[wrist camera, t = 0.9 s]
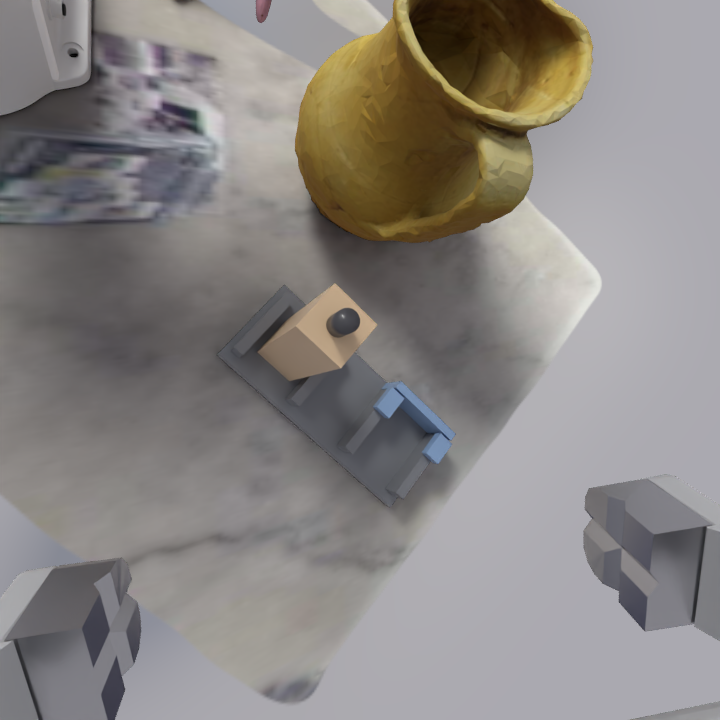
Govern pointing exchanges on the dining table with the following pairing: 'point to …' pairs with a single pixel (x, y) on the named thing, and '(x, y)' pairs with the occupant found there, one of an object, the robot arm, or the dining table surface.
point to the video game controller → (262, 9)
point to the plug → (318, 336)
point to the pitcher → (438, 115)
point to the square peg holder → (345, 408)
